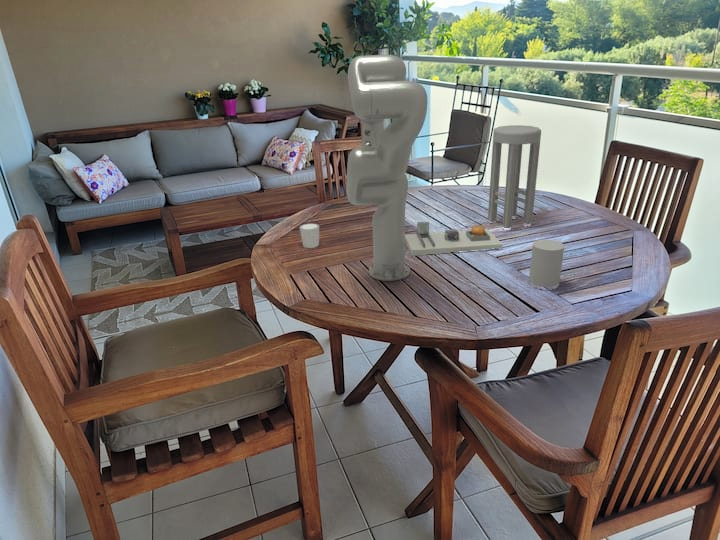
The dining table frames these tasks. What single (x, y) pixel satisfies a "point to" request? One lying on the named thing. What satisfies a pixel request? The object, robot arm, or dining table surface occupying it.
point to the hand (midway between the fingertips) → (373, 170)
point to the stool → (514, 171)
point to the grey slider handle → (423, 229)
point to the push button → (478, 230)
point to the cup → (546, 263)
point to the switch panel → (450, 242)
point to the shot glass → (310, 235)
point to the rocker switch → (451, 233)
